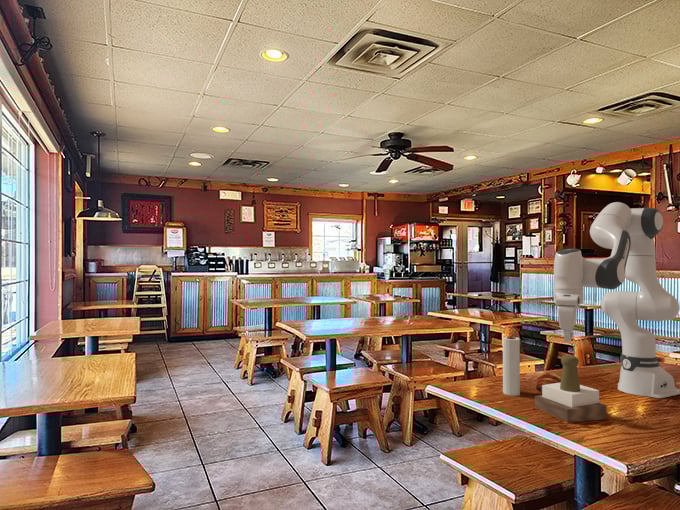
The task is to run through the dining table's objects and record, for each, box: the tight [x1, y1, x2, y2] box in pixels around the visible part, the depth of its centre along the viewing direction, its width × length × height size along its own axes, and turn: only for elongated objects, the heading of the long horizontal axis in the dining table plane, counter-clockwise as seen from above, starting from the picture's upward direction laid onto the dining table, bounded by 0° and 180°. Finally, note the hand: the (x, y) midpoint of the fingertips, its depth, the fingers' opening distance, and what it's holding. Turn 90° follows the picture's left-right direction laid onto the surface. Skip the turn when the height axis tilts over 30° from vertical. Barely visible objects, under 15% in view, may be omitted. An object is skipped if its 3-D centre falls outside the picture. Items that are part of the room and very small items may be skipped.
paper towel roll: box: [502, 336, 521, 397], centre depth 174 cm, size 7×6×21 cm
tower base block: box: [534, 394, 608, 423], centre depth 152 cm, size 15×15×5 cm
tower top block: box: [541, 382, 600, 407], centre depth 153 cm, size 12×12×4 cm
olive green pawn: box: [560, 354, 581, 392], centre depth 151 cm, size 6×6×11 cm
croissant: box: [535, 372, 562, 393], centre depth 178 cm, size 21×10×8 cm
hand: (568, 339), depth 152 cm, fingers open, 8 cm apart
